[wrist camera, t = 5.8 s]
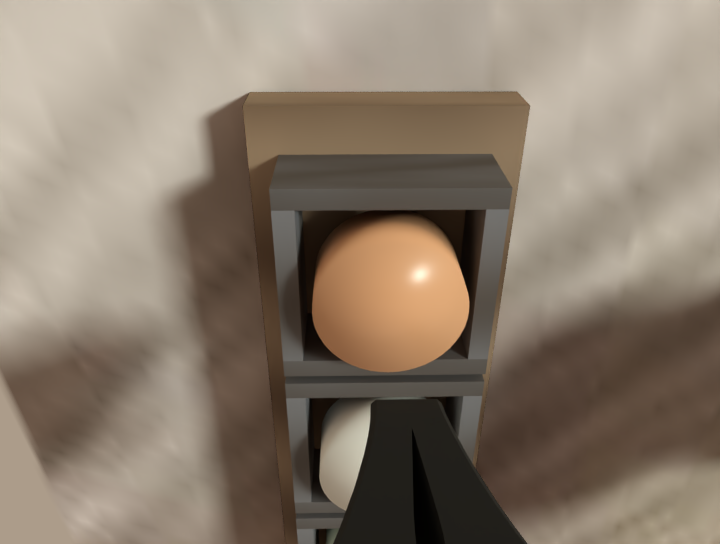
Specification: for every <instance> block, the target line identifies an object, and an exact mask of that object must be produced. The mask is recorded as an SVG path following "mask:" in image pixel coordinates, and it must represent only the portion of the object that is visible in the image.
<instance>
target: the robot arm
mask: <svg viewBox="0 0 720 544" xmlns="http://www.w3.org/2000/svg"><path fill="white" fill-rule="evenodd" d="M333 544H527V543H526V541H525V540H524V539H523V537H522V536H521V535H520V533H519V532H518V531H517V529H516V528H515V527H514V525H513V524H512V522H511V521H510V520H509V518H508V517H507V515H506V514H505V513H504V511H503V510H502V508H501V507H500V506H499V504H498V503H497V501H496V500H495V498H494V497H493V495H492V494H491V492H490V491H489V489H488V487H487V486H486V484H485V483H484V481H483V479H482V478H481V476H480V475H479V473H478V472H477V470H476V468H475V467H474V465H473V463H472V462H471V460H470V458H469V457H468V455H467V453H466V452H465V450H464V448H463V446H462V444H461V442H460V441H459V439H458V437H457V435H456V433H455V431H454V429H453V427H452V425H451V423H450V421H449V419H448V417H447V415H446V413H445V411H444V408H443V406H442V403H441V402H439V401H438V400H437V399H389V400H375V401H374V402H373V403H371V407H370V426H369V433H368V438H367V443H366V447H365V452H364V456H363V459H362V463H361V466H360V470H359V473H358V477H357V480H356V484H355V487H354V490H353V493H352V496H351V498H350V501H349V504H348V506H347V509H346V512H345V515H344V517H343V520H342V523H341V526H340V528H339V531H338V533H337V535H336V538H335V540H334V543H333Z"/></svg>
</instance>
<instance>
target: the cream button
mask: <svg viewBox="0 0 720 544" xmlns="http://www.w3.org/2000/svg"><path fill="white" fill-rule="evenodd" d="M389 399H426V398H424V397H358V398H340V399H338V400H337V401H336V402H335V403H334V404H333V405H332V406H331V407H330V408H329V410H328V411H327V413H326V414H325V417H324V419H323V422H322V430H321V452H320V474H319V479H320V484H321V487H322V490H323V491H324V493H325V495H326V496H327V497H328V498H329V500H331V501H332V502H333V503H334V504H335V505H337V506H338V507H339V508H341V509H343V510H345V511H346V509H347V506H348V504H349V501H350V498H351V496H352V493H353V490H354V487H355V484H356V480H357V477H358V473H359V470H360V466H361V463H362V459H363V456H364V452H365V447H366V443H367V438H368V433H369V426H370V407H371V403H373V402H374V401H375V400H389Z"/></svg>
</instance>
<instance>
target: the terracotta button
mask: <svg viewBox="0 0 720 544" xmlns="http://www.w3.org/2000/svg"><path fill="white" fill-rule="evenodd" d="M468 314H469V296H468V291H467V288H466V285H465V281H464V278H463V275H462V272H461V269H460V266H459V263H458V260H457V256H456V253H455V250H454V247H453V245H452V243H451V241H450V240H449V238H448V237H447V235H446V234H445V233H444V232H443V230H442V229H441V228H440V227H439V226H437V225H436V224H435V223H434V222H432V221H431V220H429V219H427V218H426V217H424V216H422V215H419V214H417V213H414V212H411V211H408V210H370V211H366V212H363V213H360V214H358V215H355V216H353V217H351V218H349V219H348V220H346V221H344V222H343V223H341V224H340V225H339V226H338V227H336V228H335V229H334V230H333V231H332V232H331V233H330V234H329V236H328V237H327V238H326V240H325V241H324V243H323V244H322V246H321V248H320V250H319V253H318V256H317V260H316V266H315V277H314V289H313V301H312V317H313V323H314V326H315V329H316V331H317V334H318V336H319V338H320V339H321V340H322V342H323V343H324V345H325V346H326V347H327V348H328V349H329V350H330V351H331V352H332V353H333V354H334V355H336V356H337V357H338V358H340V359H341V360H343V361H345V362H347V363H349V364H351V365H353V366H356V367H358V368H361V369H365V370H369V371H376V372H400V371H405V370H410V369H414V368H417V367H420V366H423V365H425V364H427V363H429V362H431V361H433V360H435V359H437V358H438V357H439V356H441V355H442V354H444V353H445V352H446V351H447V350H448V349H450V347H451V346H452V345H453V344H454V343H455V342H456V341H457V339H458V338H459V336H460V335H461V333H462V331H463V329H464V327H465V325H466V322H467V319H468Z"/></svg>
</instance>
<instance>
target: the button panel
mask: <svg viewBox="0 0 720 544" xmlns="http://www.w3.org/2000/svg"><path fill="white" fill-rule="evenodd" d="M529 109H530V105H529V104H528V103H527V102H526V101H525V100H524V99H523V98H522V97H521V95H520V94H519V93H518V92H250V93H249V95H248V97H247V99H246V101H245V103H244V105H243V116H244V126H245V136H246V146H247V157H248V167H249V177H250V187H251V197H252V207H253V217H254V228H255V238H256V248H257V258H258V268H259V278H260V288H261V299H262V309H263V319H264V329H265V339H266V349H267V359H268V370H269V380H270V390H271V400H272V410H273V420H274V431H275V441H276V451H277V461H278V471H279V481H280V491H281V502H282V512H283V522H284V532H285V542H286V544H326V529H337V528H340V526H341V523H342V520H343V517H344V515H345V512H346V511H345V510H343V509H341V508H339V507H338V506H337V505H335V504H334V503H333V502H332V501H331V500H329V498H328V497H327V496H326V495H325V493H324V491H323V490H322V487H321V484H320V479H319V474H320V452H321V430H322V422H323V419H324V417H325V414H326V413H327V411H328V410H329V408H330V407H331V406H332V405H333V404H334V403H335V402H336V401H337V400H338V399H340V398H358V397H424V398H426V399H437V400H438V401H439V402H441V403H442V406H443V408H444V411H445V413H446V415H447V417H448V419H449V421H450V423H451V425H452V427H453V429H454V431H455V433H456V435H457V437H458V439H459V441H460V442H461V444H462V446H463V448H464V450H465V452H466V453H467V455H468V457H469V458H470V460H471V462H472V463H473V465H474V467H475V468H476V463H477V456H478V449H479V443H480V436H481V429H482V423H483V416H484V409H485V403H486V396H487V389H488V383H489V376H490V369H491V363H492V356H493V349H494V343H495V336H496V329H497V323H498V316H499V309H500V303H501V296H502V289H503V283H504V276H505V269H506V263H507V256H508V249H509V243H510V236H511V229H512V223H513V216H514V209H515V203H516V196H517V189H518V183H519V176H520V169H521V163H522V156H523V149H524V143H525V136H526V129H527V123H528V116H529ZM370 210H408V211H411V212H414V213H417V214H419V215H422V216H424V217H426V218H427V219H429V220H431V221H432V222H434V223H435V224H436V225H437V226H439V227H440V228H441V229H442V230H443V232H444V233H445V234H446V235H447V237H448V238H449V240H450V241H451V243H452V245H453V247H454V250H455V253H456V256H457V260H458V263H459V266H460V269H461V272H462V275H463V278H464V281H465V285H466V288H467V291H468V296H469V314H468V319H467V322H466V325H465V327H464V329H463V331H462V333H461V335H460V336H459V338H458V339H457V341H456V342H455V343H454V344H453V345H452V346H451V347H450V349H448V350H447V351H446V352H445V353H444V354H442V355H441V356H439V357H438V358H437V359H435V360H433V361H431V362H429V363H427V364H425V365H423V366H420V367H417V368H414V369H410V370H405V371H400V372H376V371H369V370H365V369H361V368H358V367H356V366H353V365H351V364H349V363H347V362H345V361H343V360H341V359H340V358H338V357H337V356H336V355H334V354H333V353H332V352H331V351H330V350H329V349H328V348H327V347H326V346H325V345H324V343H323V342H322V340H321V339H320V338H319V336H318V334H317V331H316V329H315V326H314V323H313V317H312V301H313V289H314V277H315V266H316V260H317V256H318V253H319V250H320V248H321V246H322V244H323V243H324V241H325V240H326V238H327V237H328V236H329V234H330V233H331V232H332V231H333V230H334V229H335V228H336V227H338V226H339V225H340V224H341V223H343V222H344V221H346V220H348V219H349V218H351V217H353V216H355V215H358V214H360V213H363V212H366V211H370Z"/></svg>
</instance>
